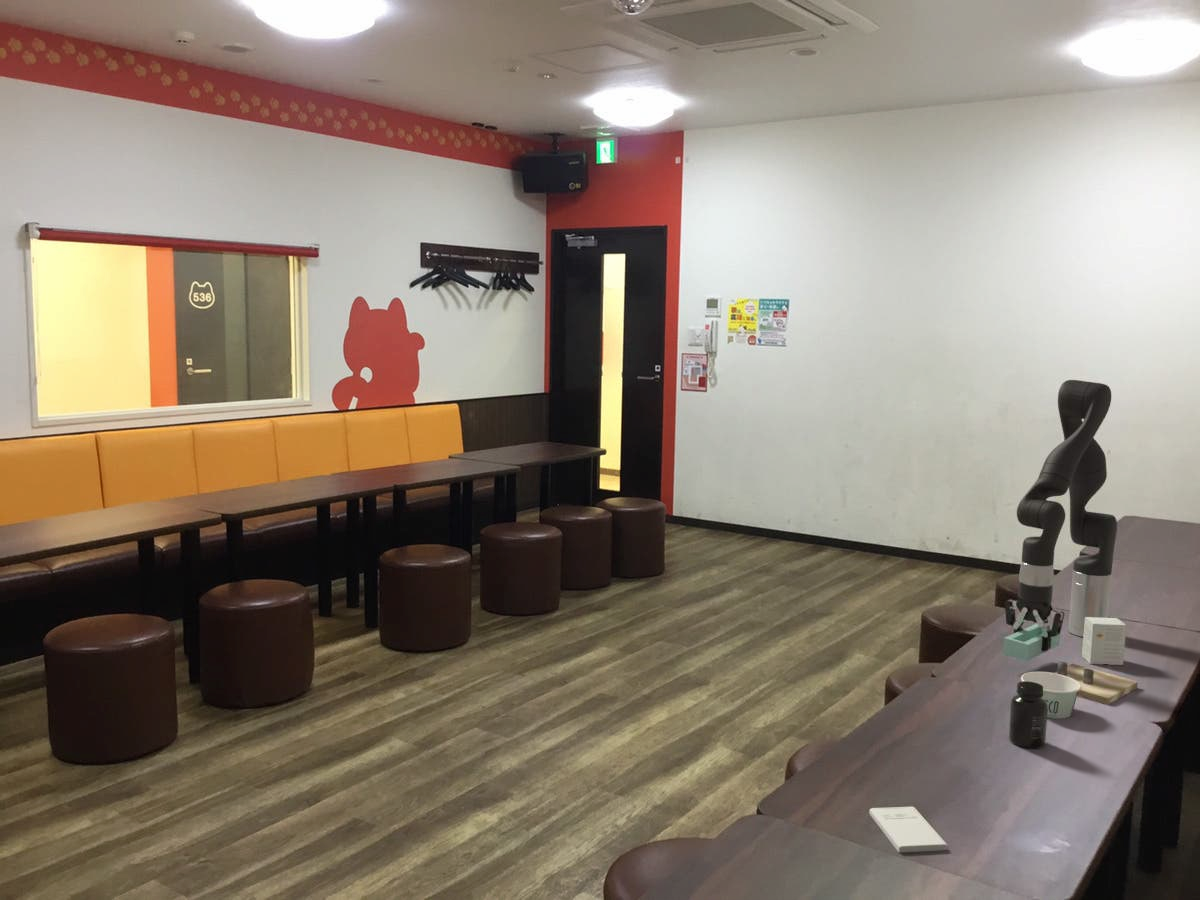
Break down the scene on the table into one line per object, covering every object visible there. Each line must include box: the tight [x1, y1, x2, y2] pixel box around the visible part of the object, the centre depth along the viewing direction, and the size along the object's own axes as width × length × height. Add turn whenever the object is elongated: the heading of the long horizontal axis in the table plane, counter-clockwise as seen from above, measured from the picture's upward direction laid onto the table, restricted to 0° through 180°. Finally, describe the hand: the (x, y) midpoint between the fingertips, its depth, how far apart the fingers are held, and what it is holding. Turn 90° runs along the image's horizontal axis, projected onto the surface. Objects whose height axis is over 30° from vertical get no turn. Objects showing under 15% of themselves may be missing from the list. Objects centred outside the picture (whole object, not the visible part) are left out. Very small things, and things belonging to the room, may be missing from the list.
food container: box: [1020, 671, 1081, 719], centre depth 214 cm, size 12×12×6 cm
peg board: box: [1053, 661, 1139, 706], centre depth 228 cm, size 16×15×4 cm
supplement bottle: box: [1008, 680, 1048, 750], centre depth 197 cm, size 7×7×12 cm
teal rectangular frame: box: [1002, 623, 1061, 662], centre depth 240 cm, size 16×6×4 cm, turn 130°
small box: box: [1081, 617, 1127, 666], centre depth 245 cm, size 8×6×10 cm
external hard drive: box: [869, 806, 948, 853], centre depth 163 cm, size 2×8×12 cm
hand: (1031, 646), depth 240 cm, fingers closed on teal rectangular frame, 6 cm apart
